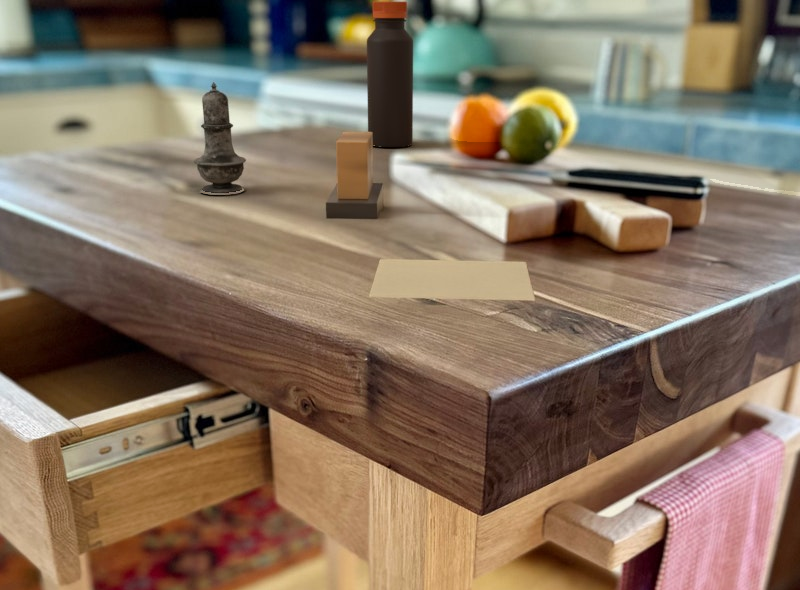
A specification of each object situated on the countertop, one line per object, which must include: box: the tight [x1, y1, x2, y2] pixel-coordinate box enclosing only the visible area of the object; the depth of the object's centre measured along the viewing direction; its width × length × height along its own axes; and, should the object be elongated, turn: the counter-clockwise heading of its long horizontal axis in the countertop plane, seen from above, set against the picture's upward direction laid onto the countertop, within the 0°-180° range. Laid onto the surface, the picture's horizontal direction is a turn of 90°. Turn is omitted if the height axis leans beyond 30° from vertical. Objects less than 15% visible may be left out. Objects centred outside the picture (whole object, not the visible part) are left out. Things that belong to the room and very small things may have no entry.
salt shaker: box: [193, 81, 247, 193], centre depth 99 cm, size 6×6×12 cm
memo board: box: [368, 258, 536, 302], centre depth 67 cm, size 12×10×1 cm
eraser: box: [325, 131, 384, 220], centre depth 88 cm, size 10×5×8 cm, turn 178°
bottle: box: [366, 0, 414, 148], centre depth 129 cm, size 7×7×20 cm
